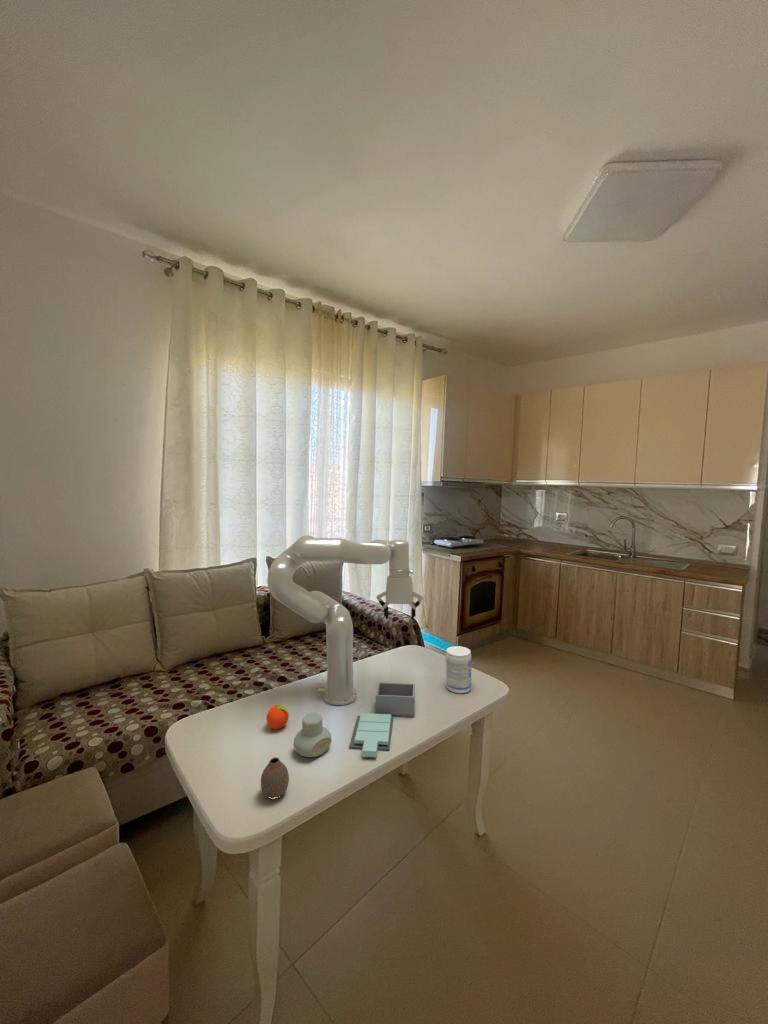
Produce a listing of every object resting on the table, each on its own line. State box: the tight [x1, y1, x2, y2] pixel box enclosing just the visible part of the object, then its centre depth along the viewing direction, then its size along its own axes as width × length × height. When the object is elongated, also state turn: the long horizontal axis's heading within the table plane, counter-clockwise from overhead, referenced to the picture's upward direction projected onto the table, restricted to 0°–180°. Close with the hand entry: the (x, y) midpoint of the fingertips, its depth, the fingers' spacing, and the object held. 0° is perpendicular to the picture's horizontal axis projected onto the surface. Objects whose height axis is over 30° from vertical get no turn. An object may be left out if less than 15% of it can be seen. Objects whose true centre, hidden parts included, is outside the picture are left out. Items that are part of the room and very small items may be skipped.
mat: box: [348, 715, 394, 752], centre depth 125 cm, size 12×16×1 cm
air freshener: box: [293, 712, 332, 758], centre depth 116 cm, size 11×8×10 cm
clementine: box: [266, 704, 291, 730], centre depth 128 cm, size 8×7×7 cm
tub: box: [375, 682, 416, 718], centre depth 138 cm, size 13×9×7 cm
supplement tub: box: [445, 645, 472, 694], centre depth 152 cm, size 10×10×15 cm
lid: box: [355, 712, 392, 758], centre depth 122 cm, size 19×10×2 cm, turn 175°
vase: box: [260, 756, 290, 798], centre depth 100 cm, size 7×7×9 cm
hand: (399, 618), depth 148 cm, fingers open, 9 cm apart
